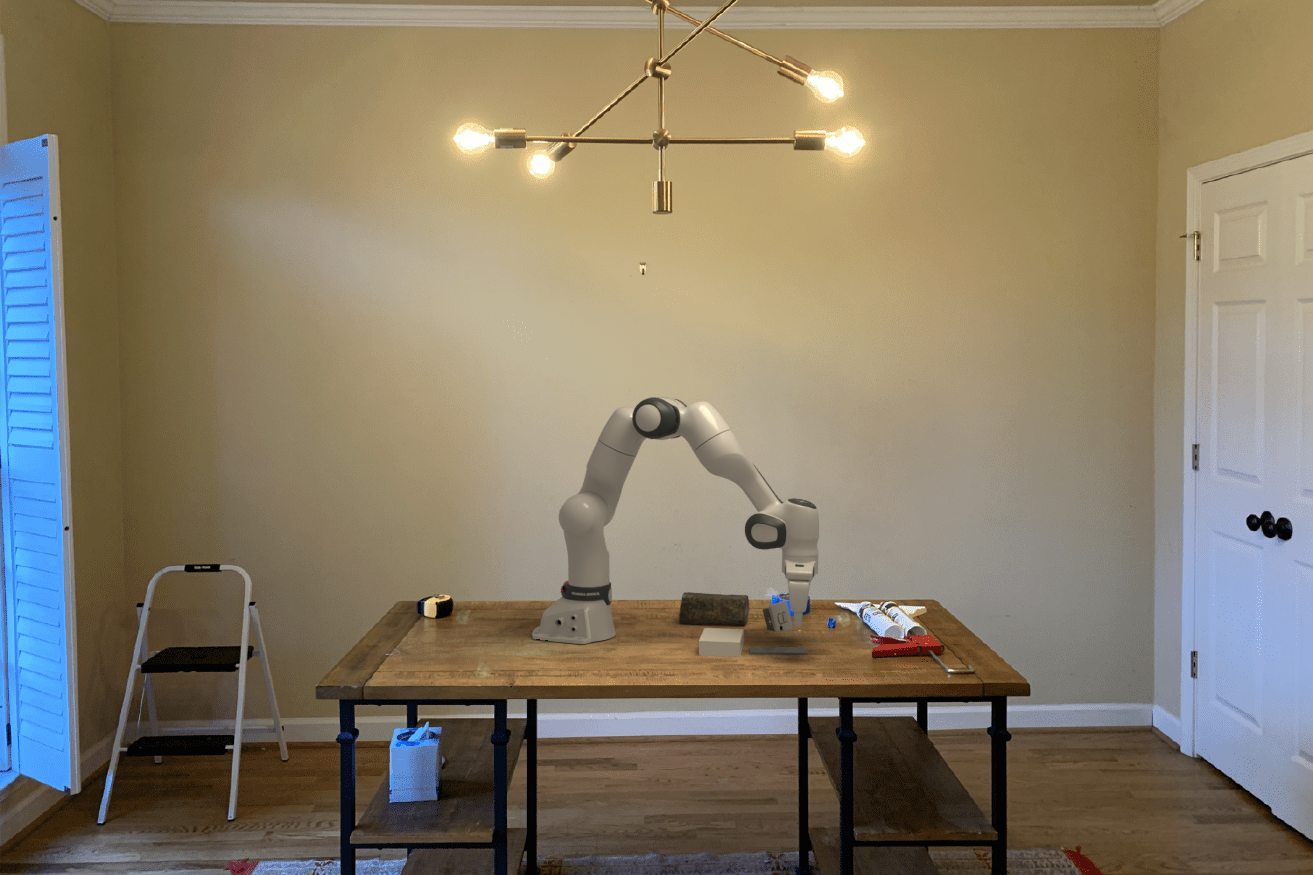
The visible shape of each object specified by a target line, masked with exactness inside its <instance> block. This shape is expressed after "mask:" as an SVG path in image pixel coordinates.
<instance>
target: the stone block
mask: <svg viewBox="0 0 1313 875" xmlns="http://www.w3.org/2000/svg"><path fill="white" fill-rule="evenodd" d="M750 610H751V606H750V600H749V596H748V595H746V594H721V593H705V592H704V593H703V592H690V591H689V592H683V594H682V595H681V600H680V606H679V613H678V622H679V623H680V624H685V625H687V624H688V625H717V626H718V625H736V626H739V625H741V626H742V625H746V624H747V622H748V619H749V613H750Z"/></svg>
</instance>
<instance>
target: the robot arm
mask: <svg viewBox="0 0 1313 875" xmlns="http://www.w3.org/2000/svg"><path fill="white" fill-rule="evenodd" d="M681 437H682V438H683V439H685V440H686V442H687V444H688V445H689V446H690V448H691V449H692V452H693V453H694V455H695V457H696V458H697V459H698V462H699V463H700V464H701V465H702V467H703V468H704V469H706V470H707V472H708V473H710V474H712V475H714V476H716V477H720V478H723V479H726V480H729V481H731V482H733V483H735V484H736V485H737V486H738V487H739V488H740V489H741V490H742V491H743V493H744V494H745V495H746V497H747V498H748V500H749V501H750V502H751V505H753V507H754V509H755V510H756V511H757V512H755V513H753V514H752V515H751V516H749V517H748V518H747V520H746V522H745V524H744V535H745V538H746V540H747V541H748V544H750V545H751V547H753V548H755V549H758V550H762V551H763V550H764V551H766V550H772V549H773V550H774V549H780V550H781V552H782V554H781V572H782V573H783V574H784V575H785V579H787V585H788V587H787V588H788V598H789V599H788V601H789V602H788V603H789V608H790V609H789V610H790V611H791V612H793V622H794V623H793V625H794V627H798V628H801V627H802V625H803V614H804V613H805V612H806V610H807V606H808V601H809V600H808V599H809V592H810V586H811V582H812V581H813V579H814V577H815V576H816V575H817V574H819V555H820V554H819V550H818V542H819V539H820V518H819V516H820V515H819V511H818V508H817V505H815V504H814V503H812V501H809V500H807V499H803V498H795V497H793V498H788V499H786V500H785V501H784V502H783V501H782V499H780V498H779V496H778V495H777V494H776V492H775V491H774V490H773V489H772V487H771V485H770V484H769V483H768V482H767V480H766V479H765V477H764V476H763V475H762V473H761V471H760V470H759V469H758V467H756V465H755V464H754V463H753V461H752V460H751V459H750V457H749V456H748V454H747V453H746V450H744V448H743V447H742V445H741V443H740V442H739V440H738V439H737V437H736V436H735V434H734V432H733V431H732V429H731V427H730V426H729V425H728V423H727V422H726V420H725V419H724V418H723V416H722V415H721V414H720V412H718V411H717V409H716V408H715V407H714V406H713V405H712V404H711V403H709V402H708V401H705V400H704V401H695V402H692V403H691V404H689V405H687V404H686V403H685V402H683V401H682V400H680V399H677V398H672V397H668V396H660V397H659V396H658V397H654V396H653V397H648V398H645V399H643V400H641V401H639V403H637V405H636V406H635V407H631V406H620V407H618V408H616V409H615V410H614V412H612V414H611V416H610V417H609V418H608V420H607V422H606V423H605V425H604V427H603V428H602V431H601V432H600V434H599V437H598V439H597V441H596V443H595V446H594V447H593V450H592V452H591V454H590V457H589V458H588V462H586V466H585V467H586V471H585V475H584V479H583V482H582V486H581V488H580V490H579V492H578V493H576V494H574V495H572V496H570V497H568V499H566V501H565V502H564V503H563V504H562V506H561V507H560V509H559V513H558V523H559V525H560V527H561V528H562V531H563V536H564V541H565V545H566V551H567V565H568V566H567V567H568V568H567V569H568V571H567V572H568V574H567V575H568V580H566V581H564V582H563V583H562V585H561V588H560V593H561V597H560V598H559V599H557V600H556V601H555V602H553V603H552V604H551V605H550V606H548V607H547V608H546V609H545V610H544V611H543V613H542V614H541V619H540V625H539V626H537V627H535V628H534V629H533V630H532V633H531V638H532V639H533V640H536V639H540V640H539V641H545V640H548V641H547V642H555V643H556V642H557V643H563V644H564V643H566V644H575V645H586V644H590V643H594V642H599V641H604V640H605V641H606V640H608V639H612V638H614V637H615V636H616V635H617V632H616V629H615V625H614V619H613V615H612V607H611V603H612V600H613V599H612V598H613V591H612V589H613V588H612V582H611V581H610V552H609V551H608V548H607V545H606V538H605V534H604V527H606V526H607V525H608V524H609V523H611V521H612V520H613V518H614V517H615V513H616V511H617V510H616V509H617V507H618V504H619V501H620V497H621V495H622V491H623V487H624V485H625V483H626V480H627V477H628V475H629V473H630V471H631V468H632V466H633V464H634V461H635V460H636V458H637V455H638V453H639V450H640V448H641V446H642V444H643V443H644V441H645V440H646V439H649V440H657V441H658V440H659V441H665V440H669V439H671V440H672V439H677V438H681Z"/></svg>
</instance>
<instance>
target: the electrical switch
mask: <svg viewBox="0 0 1313 875" xmlns="http://www.w3.org/2000/svg"><path fill="white" fill-rule="evenodd" d="M762 613H763V618H764V620H765V625H766V630H768V631H769V630H770V631H774V632H779V631H793V630H794V627H793V625H794V624H793V622H792V618H791V613H790V609H789V606H788V602H787V601H786V600H781V601H779V602H776V603H774V604H771V605H768V607H766V608H762Z"/></svg>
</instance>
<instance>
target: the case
mask: <svg viewBox="0 0 1313 875" xmlns="http://www.w3.org/2000/svg"><path fill="white" fill-rule="evenodd" d="M744 632H745V631H744V628H743V629H739V628H715V627H713V628H712V627H703V630H702V632H701V635H700V637H699V640H698V656H702V657H703V656H704V657H720V658H721V657H722V658H723V657H725V658H726V657H727V658H741V656H742V655H741V654H742V650H743V647H744Z"/></svg>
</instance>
